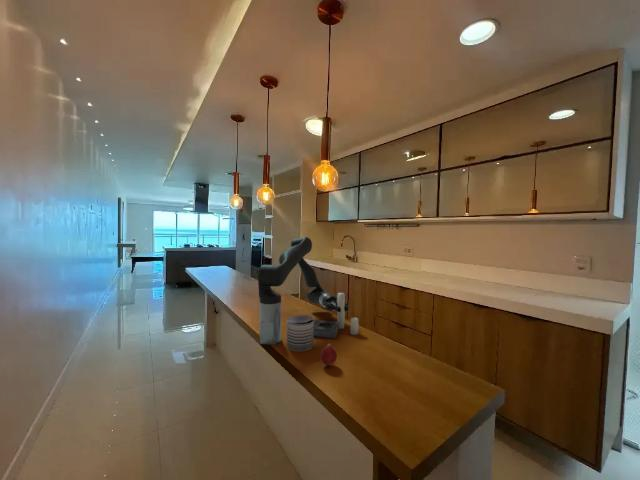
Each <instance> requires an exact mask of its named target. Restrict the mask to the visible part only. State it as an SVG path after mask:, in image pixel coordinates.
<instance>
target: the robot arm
mask: <svg viewBox="0 0 640 480" xmlns="http://www.w3.org/2000/svg"><path fill="white" fill-rule="evenodd" d="M312 248H313V243H312V240H311V238H309V237H307V236H303V237H298V238H294V239H292V240H291V242H290V247H288V248H287V249H285V250H284V251H283V252H282V253H281V254H280V255H279V258H278V263H279V264H262V265H261V266H260V267H259V269H258V272H257V285H258V286H257V287H258V298H259V344H261V345H273V346H275V345H276V344H278V343H280V342H281V341H282V295H281V294H280V293H279V292H276V291H275V290H274V289H272V287H277V288H278V287H280V286H282V285H283V284H284V283H285V281H286V280H287V278H288V277H289V275H290V273H291V272H292V271H293V269H294V268H295V267H297V265H298V266H299V268H300V270H301V272H302V274H303V277H304V280H305V283H306V286H307V287H308V288H313V289H312V290H309V291H308V292H307V293H306V298H307V300H308V301H309V302H311V303H312V304H317V305H318V304H319V305H320V306H322V309H323V310H326V311H331V312H332V311H336V312H337V311H338V312H341V308H340V307H338V306H337V297H336V296H334V295H332V294H330V293H326V292H325V290H324V288H323V287H322V286H321V284H320V283H319V280H318V277H317V274H316V271H315V269H314V267H312V266H311V265H310V264H309V263H308V262H307V261H306V260H305V258H304V257H305V256H307V255H308V254H309V253H310V252H311V251H312ZM348 305H349V304H348V302H347V301H346V300H345V312H348V311H349V306H348Z"/></svg>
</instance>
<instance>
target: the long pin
mask: <svg viewBox="0 0 640 480" xmlns="http://www.w3.org/2000/svg"><path fill="white" fill-rule="evenodd" d="M345 296H346V295H345V293H344V292H338V293H337V297H336V298H337V306H338V307H340V308H341V312H338V311H336V313H337V314H336V316H337V317H336V319H337V322H338V329H345V314H346V311H345V301H346V297H345Z"/></svg>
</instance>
